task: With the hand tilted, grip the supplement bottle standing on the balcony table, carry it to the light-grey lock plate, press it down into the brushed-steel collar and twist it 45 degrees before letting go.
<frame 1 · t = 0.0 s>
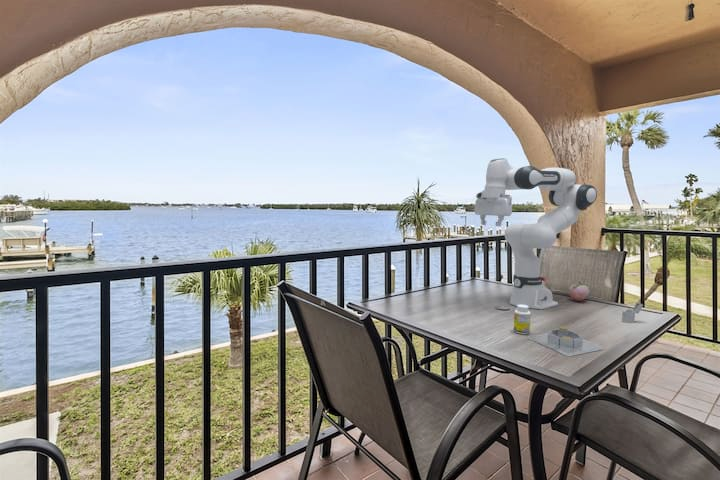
hand: (490, 225, 158), 39 cm above the table, tool pointing down, fingers open, 8 cm apart
supplement bottle: (521, 332, 133), on the table
decorative fruit: (577, 301, 175), on the table
socket: (564, 343, 122), on the table
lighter: (631, 322, 145), on the table
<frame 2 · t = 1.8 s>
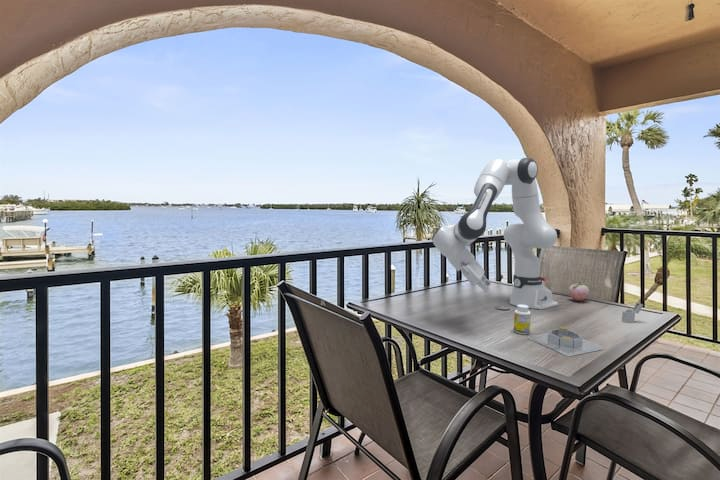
hand: (488, 287, 136), 16 cm above the table, tool tilted 45°, fingers open, 8 cm apart
nothing on the table moved.
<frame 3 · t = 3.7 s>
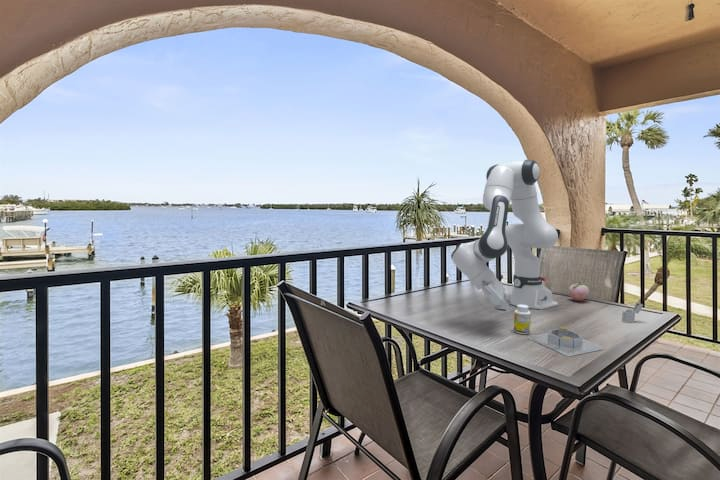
hand: (509, 306, 134), 9 cm above the table, tool tilted 45°, fingers open, 8 cm apart
nothing on the table moved.
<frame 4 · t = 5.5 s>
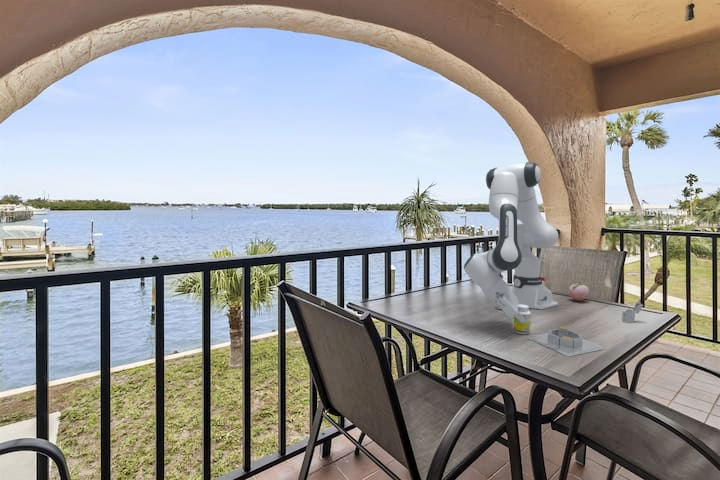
hand: (524, 318, 132), 5 cm above the table, tool tilted 45°, fingers closed on supplement bottle, 6 cm apart
supplement bottle: (521, 332, 133), on the table, touching gripper
everything else where it was.
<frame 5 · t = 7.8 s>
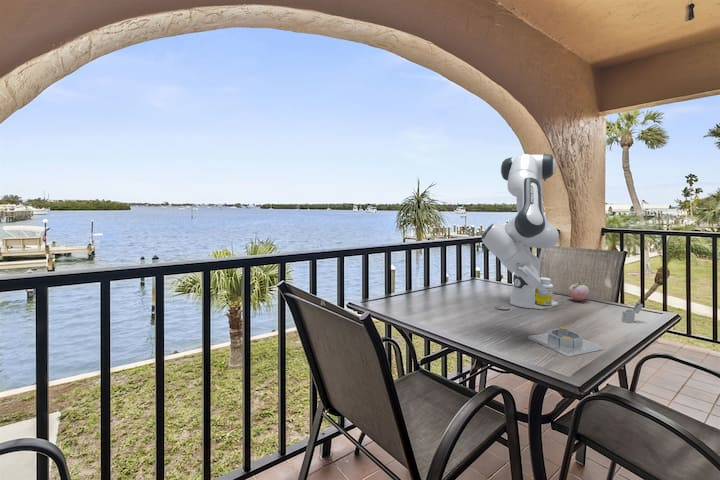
hand: (546, 290, 125), 18 cm above the table, tool tilted 45°, fingers closed on supplement bottle, 6 cm apart
supplement bottle: (542, 306, 126), point 12 cm above the table, touching gripper
everything else where it was.
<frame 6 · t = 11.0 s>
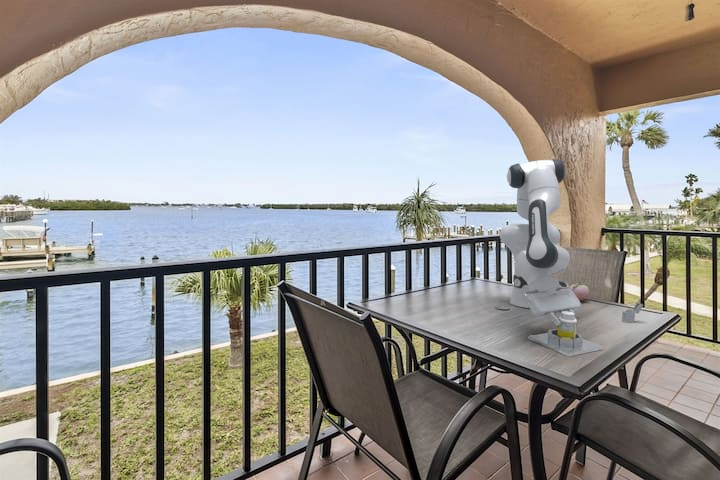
hand: (567, 323, 120), 7 cm above the table, tool tilted 45°, fingers closed on supplement bottle, 5 cm apart
supplement bottle: (565, 342, 121), point 1 cm above the table, touching gripper
everything else where it was.
when the fingers open (7 cm above the table, at t = 11.2 s): supplement bottle stays where it is, resting on socket.
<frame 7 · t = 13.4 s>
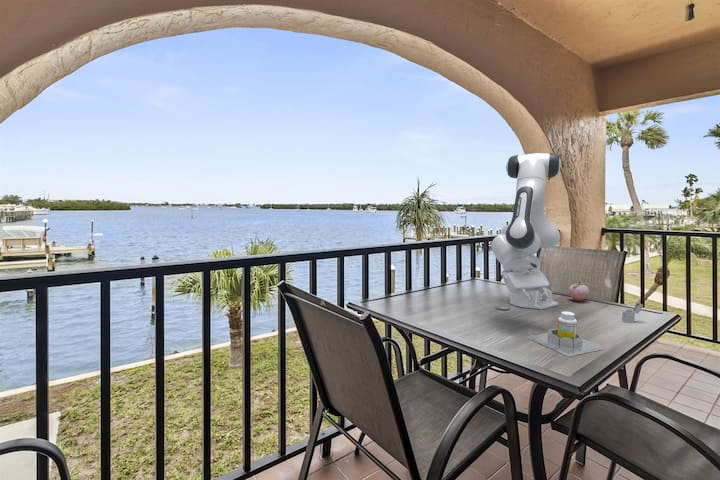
hand: (538, 299, 131), 13 cm above the table, tool tilted 45°, fingers open, 8 cm apart
supplement bottle: (566, 342, 121), point 1 cm above the table, touching socket
everything else where it was.
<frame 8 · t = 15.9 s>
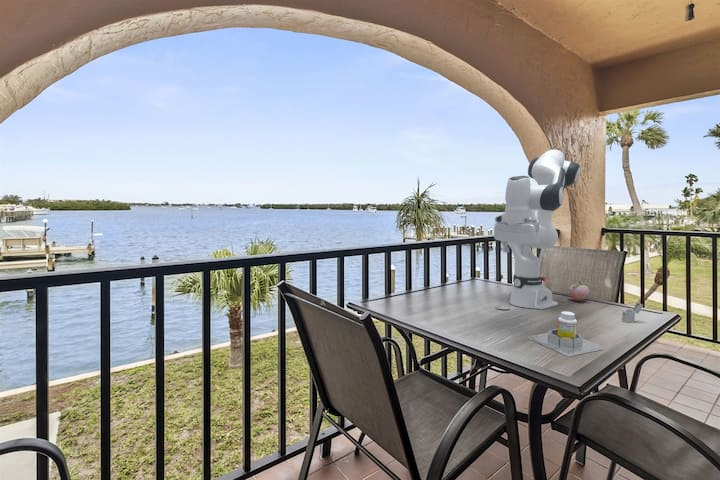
hand: (515, 254, 136), 29 cm above the table, tool pointing down, fingers open, 8 cm apart
nothing on the table moved.
at the end: supplement bottle 0.7 cm from the socket (horizontally); supplement bottle tilted 0°; supplement bottle point 0.8 cm above the table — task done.
